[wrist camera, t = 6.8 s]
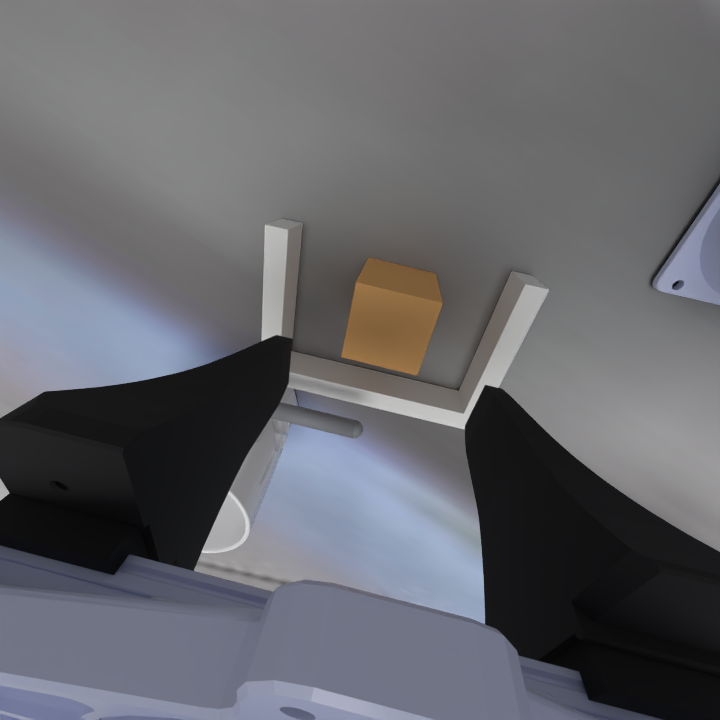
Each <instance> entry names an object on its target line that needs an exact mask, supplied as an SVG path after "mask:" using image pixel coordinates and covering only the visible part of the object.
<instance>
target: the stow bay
mask: <svg viewBox="0 0 720 720" xmlns="http://www.w3.org/2000/svg"><path fill="white" fill-rule="evenodd" d="M302 228H303V223H300V222H295V221H291V220H287V219H280V220H277V221H274V222H271V223H268V224H265V242H264V275H263V309H262V341H263V340H266V339H268V338H270V337H272V336H275V335H279V336H283V337H287V338H292V341H293V330H294V319H295V307H296V296H297V285H298V273H299V262H300V251H301V239H302ZM548 292H549V289H548V288H547V287H546V286H544V285H543V284H542V283H541V282H540V281H538V280H537V279H536V278H535V277H534V276H532V275H527V274H523V273H519V272H514V271H511V274H510V276H509V278H508V280H507V283H506V285H505V287H504V289H503V292H502V294H501V296H500V298H499V301H498V303H497V305H496V307H495V310H494V312H493V314H492V317H491V319H490V321H489V323H488V326H487V328H486V330H485V332H484V335H483V337H482V339H481V341H480V344H479V346H478V348H477V350H476V353H475V355H474V357H473V360H472V362H471V364H470V366H469V369H468V371H467V373H466V375H465V378H464V380H463V382H462V384H461V387H460V389H459V391H458V390H454V389H449V388H445V387H441V386H437V385H433V384H428V383H424V382H420V381H416V380H412V379H407V378H403V377H399V376H395V375H391V374H386V373H382V372H378V371H374V370H370V369H365V368H361V367H357V366H353V365H349V364H344V363H340V362H336V361H332V360H328V359H323V358H319V357H315V356H311V355H307V354H302V353H298V352H294V351H292V350H291V362H290V373H289V384H288V386H287V387H290V388H294V389H298V390H302V391H307V392H311V393H315V394H319V395H323V396H327V397H332V398H336V399H340V400H344V401H348V402H352V403H356V404H361V405H365V406H369V407H373V408H377V409H381V410H386V411H390V412H394V413H398V414H402V415H406V416H411V417H415V418H419V419H423V420H427V421H431V422H435V423H440V424H444V425H448V426H452V427H456V428H460V429H465V425H466V422H467V420H468V418H469V416H470V414H471V412H472V410H473V408H474V406H475V404H476V402H477V400H478V398H479V396H480V394H481V392H482V390H483V388H484V386H485V385H488V386H492V387H497V388H499V386H500V384H501V382H502V380H503V378H504V376H505V374H506V372H507V370H508V369H509V367H510V365H511V363H512V361H513V359H514V357H515V355H516V353H517V351H518V349H519V347H520V345H521V344H522V342H523V340H524V338H525V336H526V334H527V332H528V330H529V328H530V326H531V324H532V322H533V321H534V319H535V317H536V315H537V313H538V311H539V309H540V307H541V305H542V303H543V301H544V299H545V298H546V296H547V294H548ZM271 418H272V419H276V420H280V421H284V422H288V423H292V424H296V425H300V426H304V427H309V428H313V429H317V430H321V431H325V432H329V433H333V434H337V435H342V436H346V437H350V438H358V437H359V436H360V435H361V434H362V432H363V426H362V424H361V423H360V422H359V421H357V420H353V419H349V418H344V417H340V416H336V415H332V414H328V413H324V412H320V411H315V410H311V409H307V408H303V407H299V406H295V405H291V404H287V403H282V402H280V403H279V405H278V407H277V409H276V410H275V412H274V413H273V415H272V417H271Z"/></svg>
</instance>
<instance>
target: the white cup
mask: <svg viewBox="0 0 720 720" xmlns="http://www.w3.org/2000/svg"><path fill="white" fill-rule="evenodd" d="M280 402H282V403H287V404H291V405H295V406H297V405H298V403H297V399H296V395H295V391H294V388H290V387H287V388H286V390H285V393H284V395H283V397H282V399H281V401H280ZM290 425H291V423H288V422H284V421H280V420H276V419H272V418H270V420H269V421H268V423H267V424H266V426H265V428H264V429H263V431H262V432H261V434H260V435H259V437H258V439H257V440H256V442H255V443H254V445H253V446H252V448H251V450H250V451H249V453H248V455H247V456H246V458H245V460H244V462H243V464H242V466H241V468H240V470H239V472H238V474H237V476H236V478H235V480H234V482H233V484H232V486H231V488H230V490H229V492H228V494H227V496H226V499H225V501H224V503H223V505H222V507H221V509H220V511H219V513H218V516H217V518H216V520H215V522H214V525H213V527H212V529H211V531H210V534H209V536H208V538H207V540H206V542H205V545H204V547H203V549H202V552H201V553H220V552H226V551H230V550H232V549H235V548H237V547H239V546H240V545H241V544H243V543H244V542H245V540H246V539H247V537H248V535H249V533H250V530H251V528H252V525H253V523H254V520H255V518H256V515H257V513H258V510H259V508H260V505H261V503H262V500H263V498H264V495H265V493H266V490H267V488H268V485H269V483H270V480H271V478H272V475H273V473H274V470H275V468H276V465H277V463H278V460H279V458H280V455H281V453H282V450H283V446H284V444H285V441H286V439H287V436H288V430H289V427H290Z"/></svg>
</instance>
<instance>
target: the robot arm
mask: <svg viewBox="0 0 720 720" xmlns="http://www.w3.org/2000/svg"><path fill="white" fill-rule="evenodd" d="M678 280H679V282H678V284H677V285H676V286H675V287H672V285H673V283H674V282H676V281H678ZM653 287H654V289H656V290H658V291H661V292H664V293H669V294H673V295H678V296H682V297H686V298H691V299H695V300H699V301H704V302H708V303H713V304H717V305H720V184H719V186H718V187H717V188H716V190H715V191H714V193H713V194H712V196H711V197H710V199H709V200H708V202H707V203H706V204H705V206H704V207H703V209H702V210H701V212H700V213H699V215H698V216H697V218H696V219H695V220H694V222H693V223H692V225H691V226H690V228H689V229H688V231H687V232H686V234H685V235H684V236H683V238H682V239H681V241H680V242H679V244H678V245H677V247H676V248H675V250H674V251H673V252H672V254H671V255H670V257H669V258H668V260H667V261H666V263H665V264H664V266H663V267H662V268H661V270H660V271H659V273H658V274H657V276H656V277H655V279H654V281H653ZM291 350H292V338H287V337H283V336H279V335H275V336H272V337H270V338H268V339H266V340H263V341H261V342H259V343H257V344H255V345H253V346H250V347H248V348H246V349H244V350H241V351H239V352H237V353H235V354H232V355H230V356H227V357H224V358H222V359H219V360H217V361H214V362H212V363H209V364H206V365H203V366H200V367H197V368H193V369H190V370H187V371H183V372H179V373H176V374H171V375H166V376H162V377H157V378H153V379H148V380H143V381H138V382H132V383H126V384H119V385H112V386H104V387H95V388H85V389H73V390H61V391H47V392H43V393H42V394H40V395H38V396H37V397H35V398H33V399H32V400H30V401H28V402H27V403H25V404H23V405H22V406H20V407H18V408H17V409H15V410H13V411H12V412H10V413H8V414H7V415H5V416H3V417H2V418H0V478H1V480H2V481H3V483H4V485H5V486H6V488H7V489H8V491H9V493H10V494H8V495H7V496H6V497H5V498H3V499H2V500H1V501H0V720H720V552H719V551H717V550H715V549H713V548H711V547H710V546H708V545H706V544H704V543H702V542H701V541H699V540H697V539H695V538H693V537H691V536H690V535H688V534H686V533H684V532H683V531H681V530H679V529H678V528H676V527H674V526H673V525H671V524H669V523H668V522H666V521H665V520H663V519H661V518H660V517H658V516H656V515H655V514H653V513H651V512H650V511H648V510H647V509H645V508H644V507H642V506H641V505H639V504H638V503H636V502H634V501H633V500H632V499H630V498H629V497H627V496H626V495H624V494H623V493H621V492H620V491H619V490H617V489H616V488H614V487H613V486H611V485H610V484H609V483H607V482H606V481H604V480H603V479H602V478H600V477H599V476H598V475H596V474H595V473H594V472H593V471H591V470H590V469H589V468H588V467H586V466H585V465H584V464H582V463H581V462H580V461H579V460H577V459H576V458H575V457H574V456H573V455H571V454H570V453H569V452H568V451H567V450H566V449H565V448H563V447H562V446H561V445H560V444H559V443H558V442H557V441H556V440H555V439H553V438H552V437H551V436H550V435H549V434H548V433H547V432H546V431H545V430H544V429H543V428H542V427H541V426H540V425H539V424H538V423H537V422H536V421H535V420H534V419H533V418H532V417H531V416H530V415H529V414H528V413H527V412H526V411H525V410H524V409H523V408H522V407H521V406H520V405H519V404H518V403H517V402H516V401H515V400H514V399H513V398H512V397H511V396H510V395H509V394H507V393H506V392H505V391H504V390H503V389H501V388H497V387H492V386H488V385H485V386H484V388H483V390H482V392H481V394H480V396H479V398H478V400H477V402H476V404H475V406H474V408H473V410H472V412H471V414H470V416H469V418H468V420H467V422H466V425H465V444H466V454H467V459H468V464H469V469H470V474H471V479H472V484H473V489H474V494H475V499H476V503H477V509H478V515H479V522H480V533H481V544H482V558H483V573H484V595H485V624H483V623H480V622H478V621H476V620H473V619H470V618H466V617H463V616H459V615H455V614H451V613H447V612H443V611H439V610H435V609H432V608H428V607H424V606H420V605H416V604H412V603H408V602H405V601H401V600H397V599H393V598H389V597H385V596H381V595H377V594H374V593H370V592H366V591H362V590H358V589H354V588H350V587H346V586H343V585H339V584H335V583H328V582H320V581H312V580H301V581H296V582H292V583H287V584H283V585H281V586H280V587H278V588H276V590H275V591H274V592H272V591H268V590H264V589H260V588H257V587H253V586H249V585H245V584H241V583H237V582H234V581H230V580H226V579H222V578H218V577H214V576H211V575H207V574H203V573H199V572H195V571H194V568H195V566H196V564H197V561H198V559H199V557H200V554H201V552H202V549H203V547H204V545H205V542H206V540H207V538H208V536H209V534H210V531H211V529H212V527H213V525H214V522H215V520H216V518H217V516H218V513H219V511H220V509H221V507H222V505H223V503H224V501H225V499H226V496H227V494H228V492H229V490H230V488H231V486H232V484H233V482H234V480H235V478H236V476H237V474H238V472H239V470H240V468H241V466H242V464H243V462H244V460H245V458H246V456H247V455H248V453H249V451H250V450H251V448H252V446H253V445H254V443H255V442H256V440H257V439H258V437H259V435H260V434H261V432H262V431H263V429H264V428H265V426H266V424H267V423H268V421H269V420H270V418H271V417H272V415H273V413H274V412H275V410H276V409H277V407H278V405H279V403H280V401H281V399H282V397H283V395H284V393H285V390H286V388H287V386H288V384H289V373H290V362H291Z"/></svg>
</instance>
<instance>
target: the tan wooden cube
mask: <svg viewBox="0 0 720 720" xmlns="http://www.w3.org/2000/svg"><path fill="white" fill-rule="evenodd" d="M442 305H443V301H442V297H441V293H440V289H439V285H438V281H437V277H436V273H432V272H428V271H423V270H419V269H415V268H411V267H407V266H403V265H398V264H394V263H390V262H386V261H382V260H377V259H373V258H369V257H368V259H367V261H366V263H365V265H364V267H363V269H362V271H361V273H360V275H359V277H358V279H357V281H356V284H355V289H354V294H353V299H352V305H351V310H350V315H349V320H348V325H347V330H346V335H345V340H344V345H343V351H342V356H341V357H343V358H347V359H351V360H355V361H359V362H363V363H367V364H371V365H376V366H380V367H384V368H388V369H392V370H396V371H400V372H404V373H408V374H412V375H418V372H419V369H420V367H421V364H422V361H423V358H424V355H425V352H426V350H427V347H428V344H429V341H430V338H431V336H432V333H433V330H434V327H435V324H436V322H437V319H438V316H439V313H440V310H441V308H442Z"/></svg>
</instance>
